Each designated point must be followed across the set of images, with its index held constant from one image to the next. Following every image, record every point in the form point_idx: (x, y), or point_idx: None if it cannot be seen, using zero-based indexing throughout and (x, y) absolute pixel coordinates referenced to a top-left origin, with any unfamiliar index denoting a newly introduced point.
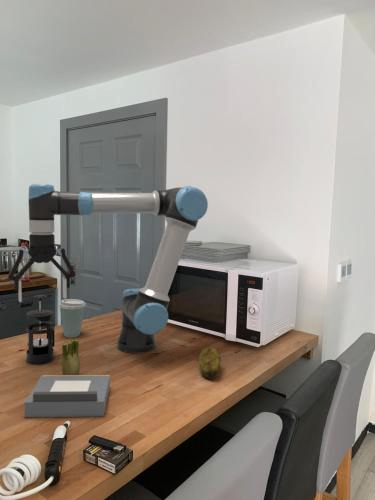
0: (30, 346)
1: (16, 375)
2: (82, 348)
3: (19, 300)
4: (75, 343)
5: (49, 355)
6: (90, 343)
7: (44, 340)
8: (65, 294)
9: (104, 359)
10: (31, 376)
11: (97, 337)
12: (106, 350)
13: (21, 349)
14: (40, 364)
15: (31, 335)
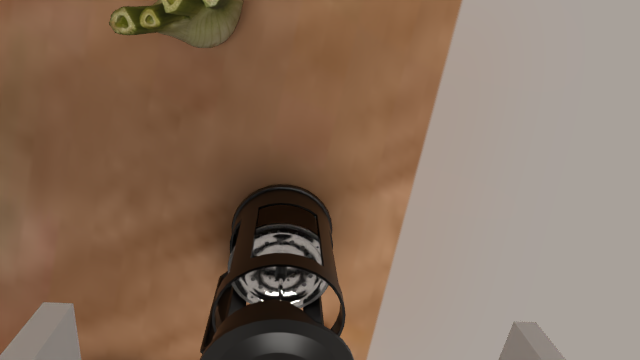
0: (327, 240)
1: (388, 127)
2: (111, 270)
3: (541, 334)
4: (137, 15)
5: (254, 205)
6: None
7: (257, 290)
8: (28, 338)
9: (34, 129)
10: (344, 94)
11: None
12: (13, 216)
13: None
14: (291, 185)
15: (328, 266)
